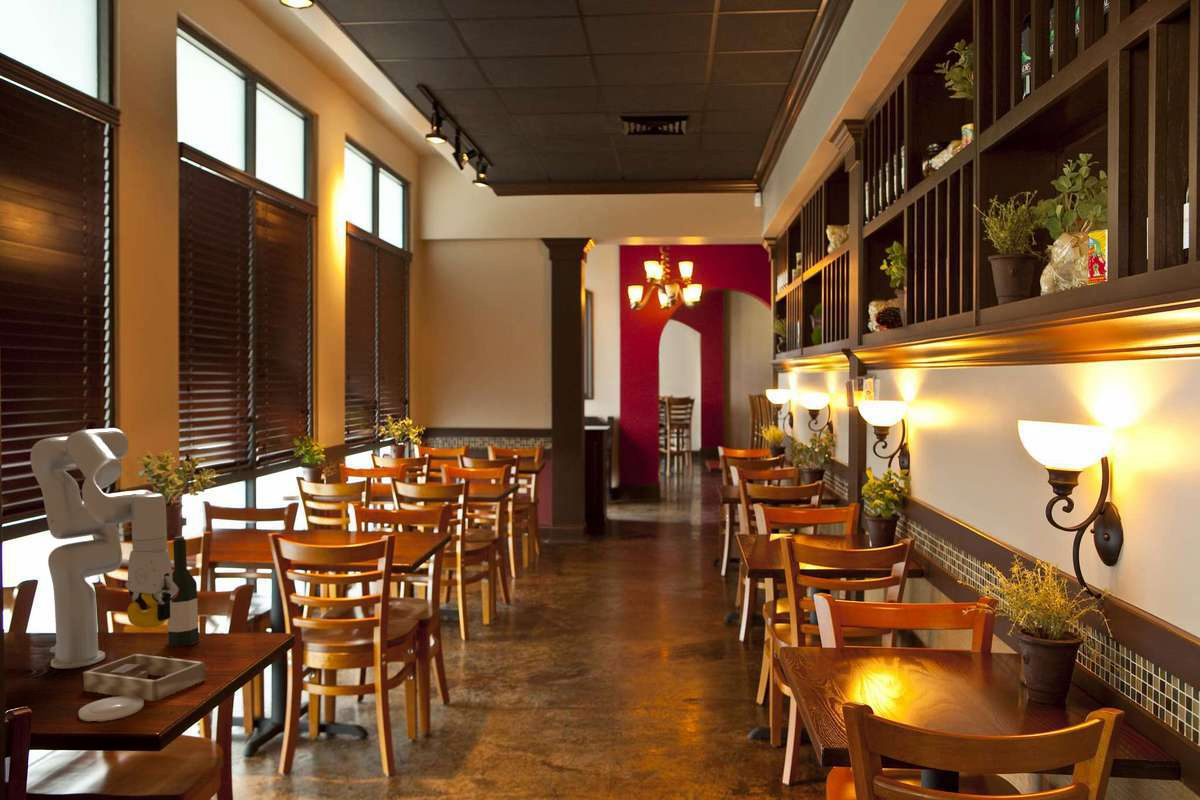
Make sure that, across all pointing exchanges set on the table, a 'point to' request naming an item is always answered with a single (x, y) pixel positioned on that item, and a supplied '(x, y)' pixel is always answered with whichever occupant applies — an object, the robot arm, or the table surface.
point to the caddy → (175, 679)
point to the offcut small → (127, 670)
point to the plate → (111, 708)
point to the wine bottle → (183, 600)
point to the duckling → (146, 612)
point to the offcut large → (142, 675)
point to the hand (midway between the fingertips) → (152, 617)
